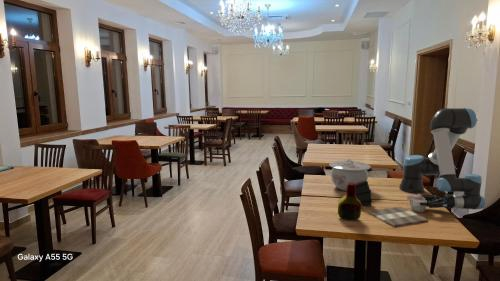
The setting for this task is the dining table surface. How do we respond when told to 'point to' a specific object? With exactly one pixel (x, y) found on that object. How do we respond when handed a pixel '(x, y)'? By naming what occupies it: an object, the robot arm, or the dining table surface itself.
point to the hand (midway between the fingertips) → (410, 200)
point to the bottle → (349, 204)
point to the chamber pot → (348, 173)
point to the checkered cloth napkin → (397, 216)
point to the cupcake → (417, 208)
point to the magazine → (363, 193)
